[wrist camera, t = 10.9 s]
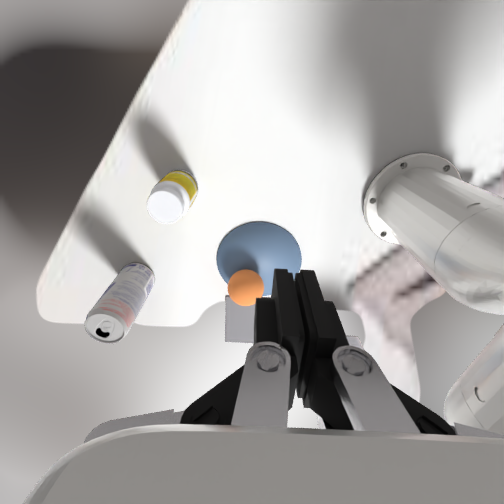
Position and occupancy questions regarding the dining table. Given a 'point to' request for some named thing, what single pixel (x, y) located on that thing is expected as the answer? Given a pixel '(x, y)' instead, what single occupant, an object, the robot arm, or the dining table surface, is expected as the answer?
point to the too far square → (239, 322)
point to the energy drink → (120, 304)
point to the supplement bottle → (172, 196)
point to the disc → (258, 252)
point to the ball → (245, 287)
